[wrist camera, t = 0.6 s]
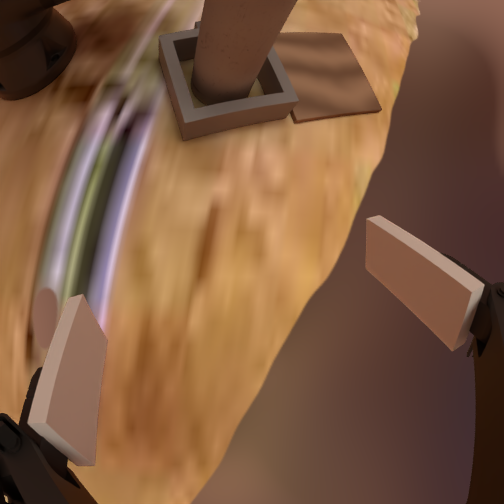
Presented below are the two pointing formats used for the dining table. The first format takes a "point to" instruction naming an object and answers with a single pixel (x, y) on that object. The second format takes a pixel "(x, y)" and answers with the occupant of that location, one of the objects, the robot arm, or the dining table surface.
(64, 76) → the dining table surface
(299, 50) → the board
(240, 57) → the thermos bottle
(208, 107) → the collar
